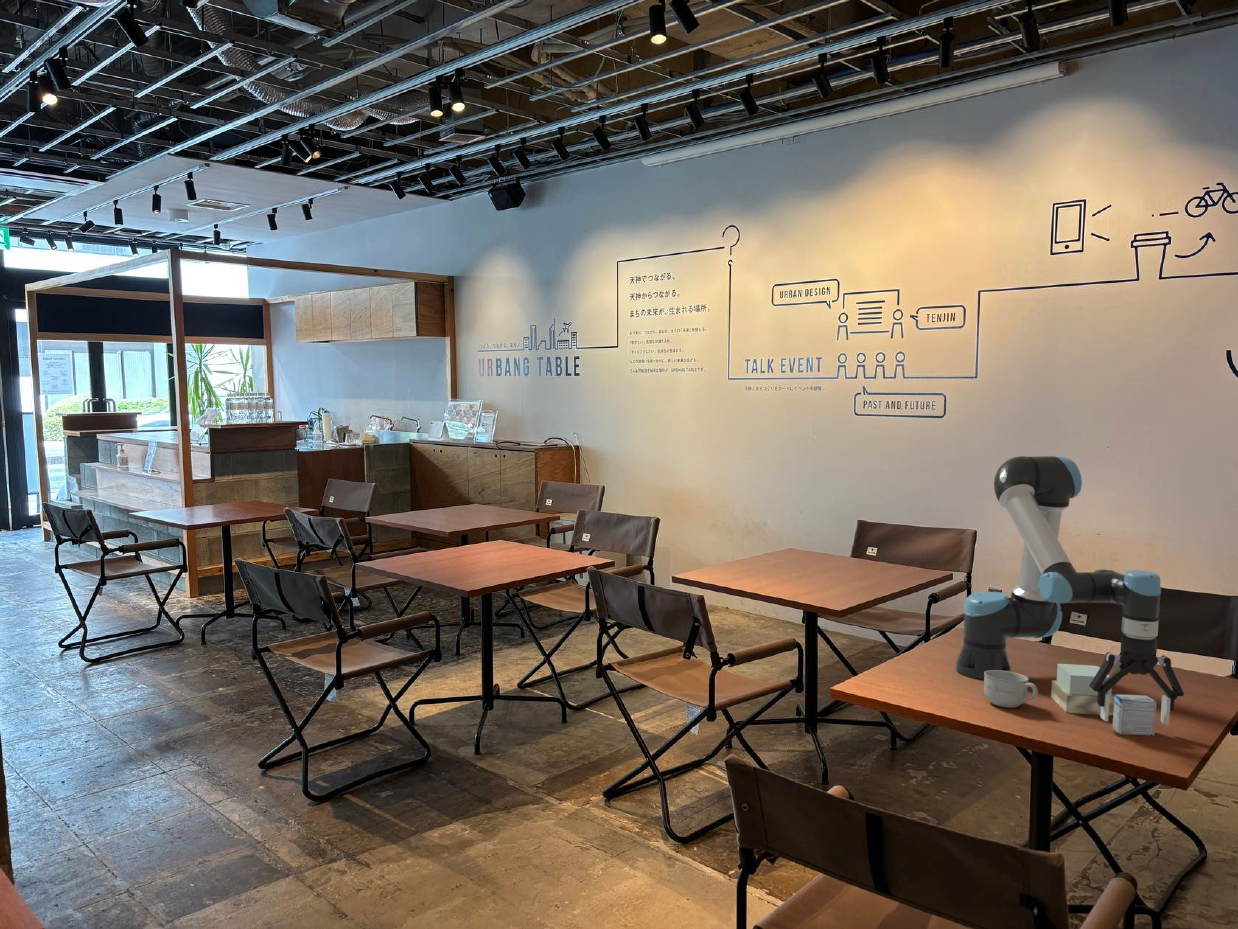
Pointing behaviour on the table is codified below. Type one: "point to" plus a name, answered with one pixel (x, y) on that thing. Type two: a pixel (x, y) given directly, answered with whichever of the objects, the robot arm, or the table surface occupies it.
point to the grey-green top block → (1078, 678)
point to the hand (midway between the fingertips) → (1134, 721)
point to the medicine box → (1134, 714)
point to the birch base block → (1078, 701)
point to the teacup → (1007, 688)
